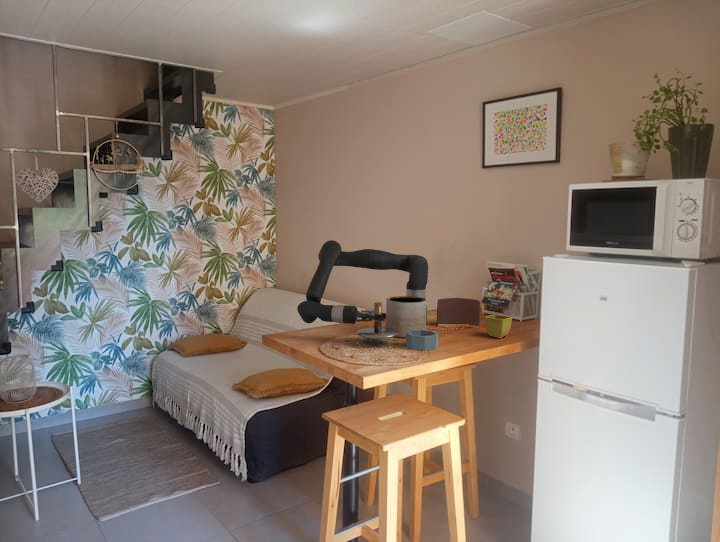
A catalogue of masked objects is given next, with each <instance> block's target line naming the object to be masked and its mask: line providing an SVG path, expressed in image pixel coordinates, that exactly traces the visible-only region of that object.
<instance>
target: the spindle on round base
mask: <svg viewBox="0 0 720 542" xmlns="http://www.w3.org/2000/svg"><path fill="white" fill-rule="evenodd" d="M382 303H383V302H381V301H378V302H377V301H376V302H374V304H373V305H374V307H373V309H374V310H373V311H374V315H375V314H377V315H382V313H383V311H382V305H383V304H382ZM356 335H357V336H358V337H361V338H364V339H365V338H366V339H372V340H383V339H385V340H386V339H392V338H397V337H396V336H398V335H399V332H398V331H397V330H395V329H390V328H386V327H382V320H375V319H374V321H373V327H365V328H360V329H358V330H357V331H356Z"/></svg>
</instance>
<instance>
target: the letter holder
mask: <svg viewBox="0 0 720 542" xmlns="http://www.w3.org/2000/svg"><path fill="white" fill-rule="evenodd" d="M436 309H437V310H436V325H437V324H469V325H475V326H480V327H481V324H480V323H481V301H480V300H478V299H474V298H466V297H465V298H464V297H446V298H440V299H438V300H437V306H436Z"/></svg>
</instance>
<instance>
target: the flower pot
mask: <svg viewBox="0 0 720 542" xmlns="http://www.w3.org/2000/svg"><path fill="white" fill-rule="evenodd" d="M484 321H485V322H484V323H485V330H486V332H487V334H488V336H489V335H491V336H497V337H502V336H505V335H507V336H508V334H509V333H510V330H511V326H512V322H513V316H508V315H502V314H496V313H495V314H494V313H493V314H490V315H487V316H484Z"/></svg>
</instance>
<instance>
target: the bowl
mask: <svg viewBox="0 0 720 542" xmlns="http://www.w3.org/2000/svg"><path fill="white" fill-rule="evenodd" d="M439 338H440V333H439V332H437V331H434V330H429V329H426V330H410V331H408V332H407V333H406V338H405V347H406V346H407V347H406V348H408V347H409V348H408V349H410V348H411V349H410V350H414V349H415V351H423V350H424V352H425V351H433V350H434V351H435V350H437V349H438V348H439V345H440V344H439V342H440V341H439V340H440V339H439Z"/></svg>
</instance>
